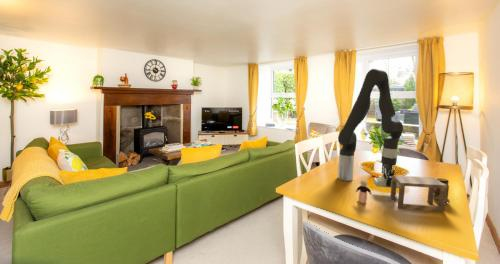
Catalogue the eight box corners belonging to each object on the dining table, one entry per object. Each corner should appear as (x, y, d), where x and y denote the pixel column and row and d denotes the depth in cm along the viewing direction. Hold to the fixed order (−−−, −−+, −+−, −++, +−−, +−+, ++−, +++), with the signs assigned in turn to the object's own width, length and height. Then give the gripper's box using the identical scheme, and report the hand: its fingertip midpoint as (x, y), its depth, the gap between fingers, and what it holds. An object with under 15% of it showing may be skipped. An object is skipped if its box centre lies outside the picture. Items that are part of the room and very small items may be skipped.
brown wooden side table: (398, 208, 124) (401, 182, 122) (390, 199, 135) (392, 175, 133) (443, 212, 120) (446, 185, 118) (431, 201, 131) (433, 177, 130)
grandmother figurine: (354, 203, 130) (356, 180, 129) (355, 200, 134) (356, 177, 132) (371, 205, 127) (372, 182, 126) (370, 202, 131) (372, 179, 129)
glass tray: (376, 186, 141) (377, 177, 140) (373, 182, 147) (374, 174, 146) (399, 188, 138) (400, 179, 137) (395, 184, 144) (396, 176, 143)
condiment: (431, 201, 132) (433, 179, 131) (432, 196, 139) (435, 176, 137) (448, 205, 128) (451, 182, 126) (449, 199, 134) (451, 178, 132)
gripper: (378, 152, 147) (375, 179, 150) (386, 158, 133) (383, 188, 136) (392, 153, 146) (389, 180, 148) (401, 159, 132) (398, 189, 135)
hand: (386, 183), depth 142 cm, fingers closed on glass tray, 6 cm apart
